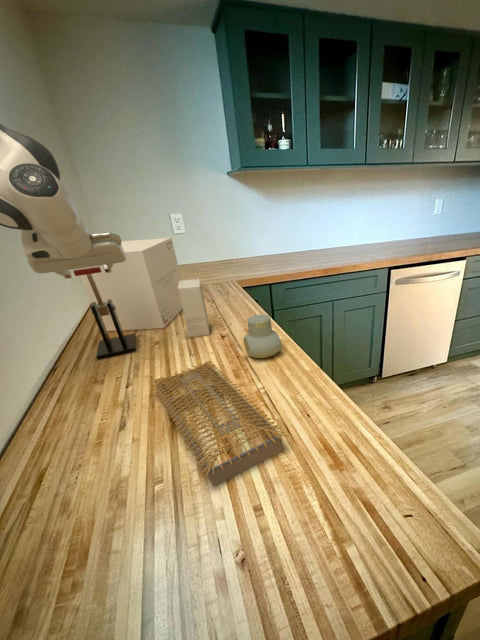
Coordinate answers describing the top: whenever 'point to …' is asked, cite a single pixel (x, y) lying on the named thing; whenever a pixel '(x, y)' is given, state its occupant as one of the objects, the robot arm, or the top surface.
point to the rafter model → (206, 394)
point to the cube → (140, 285)
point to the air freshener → (261, 337)
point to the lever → (94, 288)
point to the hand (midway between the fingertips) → (88, 273)
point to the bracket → (112, 345)
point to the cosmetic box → (194, 307)
